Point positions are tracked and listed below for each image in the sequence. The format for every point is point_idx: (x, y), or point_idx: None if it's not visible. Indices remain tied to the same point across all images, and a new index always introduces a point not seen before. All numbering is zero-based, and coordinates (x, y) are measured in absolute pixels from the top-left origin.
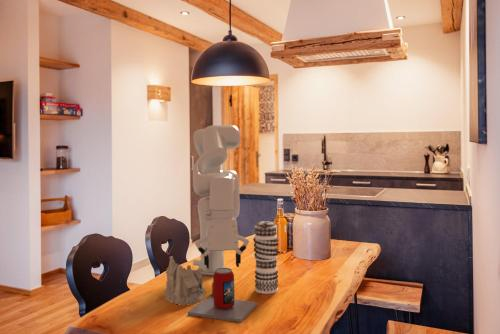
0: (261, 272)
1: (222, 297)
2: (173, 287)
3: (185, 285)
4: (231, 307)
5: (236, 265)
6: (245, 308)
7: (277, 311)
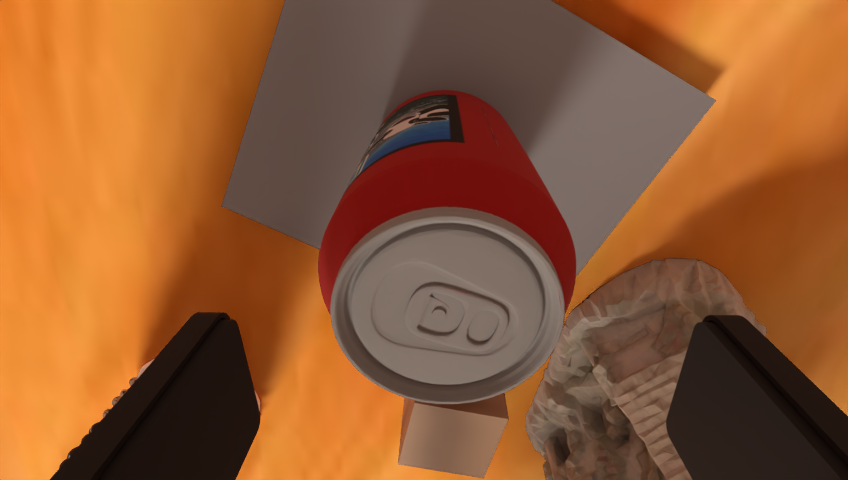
0: None
1: (464, 106)
2: None
3: None
4: None
5: (235, 346)
6: (295, 103)
7: (82, 70)
